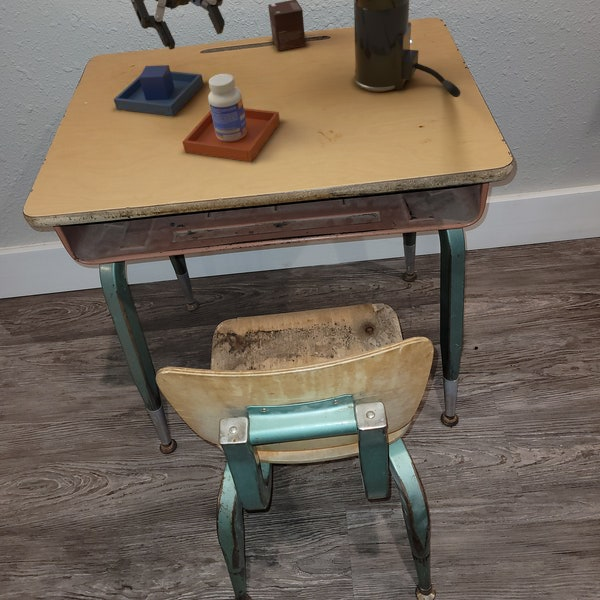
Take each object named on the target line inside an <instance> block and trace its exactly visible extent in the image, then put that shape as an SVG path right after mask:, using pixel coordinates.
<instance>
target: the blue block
mask: <svg viewBox="0 0 600 600" xmlns="http://www.w3.org/2000/svg"><path fill="white" fill-rule="evenodd" d="M170 71H171V69H170V65H169V64H165V65H164V64H163V65H162V64H161V65H145V66H144V68H143V70H142V71H141V73H140V74H139V76H140V77H139V76H138V77H139V79H140V82H141V86H142V89H143V92H144V96H145V99H146V100H167V99H169V98H170V96H171V94H172V92H173V90H174V84H173V80H172V76H171V72H170Z"/></svg>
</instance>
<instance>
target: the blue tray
mask: <svg viewBox="0 0 600 600" xmlns="http://www.w3.org/2000/svg"><path fill="white" fill-rule="evenodd" d="M170 72H171V76H172V80H173V84H174V90H173V92H172V94H171V96H170V98H169V99H167V100H146V99H145V96H144V92H143V89H142V86H141V82H140V79H139V77H140V75H139V76H137V77H136V78H135V79H134V80H133V81H132V82H131V83H129V84H128V86H126V87H125V88H124V89H123V90H122V91H121V92H120V93H118V94H117V95H116V96H115V97H114V98H113V99H112V100H113V102H114V105H115V108H116V110H120V111H121V110H122V111H129V112H137V113H145V114H151V115H152V114H153V115H161V116H168V117H175V115H176V114H177V113H178V112H179V111H180V110H181V109H182V108H183V107H184V106H185V105H186V104H187V102H188V101H189V100H190V99H191V98H192V97H193V96H194V95H195V94H196V93H197V92H198V91H199V90H200V89H201V88H202V87H203V85H204V79H203V75H202V74H201V73H190V72H182V71H181V72H180V71H173V70H172V71H171V70H170Z"/></svg>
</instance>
